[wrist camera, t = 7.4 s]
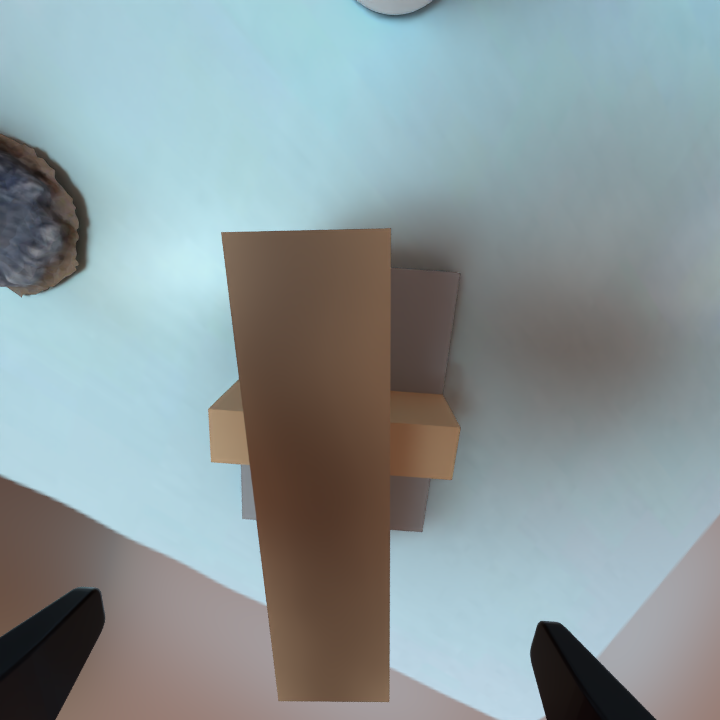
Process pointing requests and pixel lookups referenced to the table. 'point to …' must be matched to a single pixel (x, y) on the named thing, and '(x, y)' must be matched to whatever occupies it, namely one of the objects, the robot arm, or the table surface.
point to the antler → (33, 222)
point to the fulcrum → (407, 399)
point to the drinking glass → (394, 6)
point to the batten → (319, 449)
